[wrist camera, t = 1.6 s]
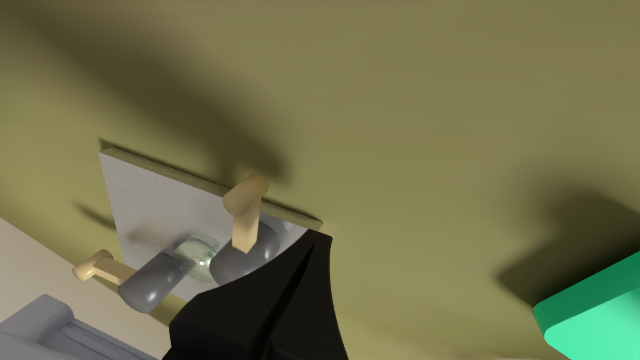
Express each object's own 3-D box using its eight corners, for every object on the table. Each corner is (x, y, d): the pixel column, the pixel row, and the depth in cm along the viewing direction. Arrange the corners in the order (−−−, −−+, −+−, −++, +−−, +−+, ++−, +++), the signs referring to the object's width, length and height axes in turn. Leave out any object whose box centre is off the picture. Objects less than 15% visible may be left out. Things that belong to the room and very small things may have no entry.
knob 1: (182, 262, 23) (147, 295, 20) (184, 285, 25) (152, 319, 22) (110, 231, 24) (67, 258, 21) (116, 256, 26) (77, 284, 23)
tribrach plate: (292, 334, 25) (283, 357, 23) (137, 266, 28) (117, 282, 26) (323, 222, 18) (313, 242, 16) (113, 146, 21) (83, 156, 19)
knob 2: (276, 263, 20) (252, 303, 17) (238, 248, 20) (208, 284, 17) (292, 173, 16) (264, 204, 13) (244, 157, 16) (206, 183, 13)
